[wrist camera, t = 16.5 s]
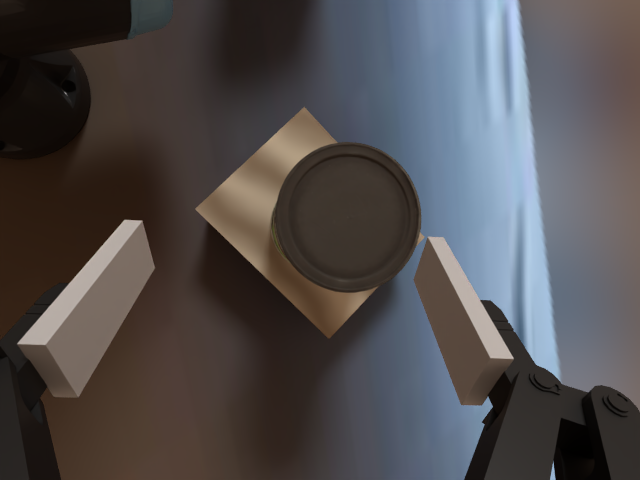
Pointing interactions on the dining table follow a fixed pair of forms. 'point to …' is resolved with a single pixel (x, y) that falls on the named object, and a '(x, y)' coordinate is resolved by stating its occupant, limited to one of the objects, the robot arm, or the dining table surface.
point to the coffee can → (347, 217)
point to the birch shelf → (255, 214)
